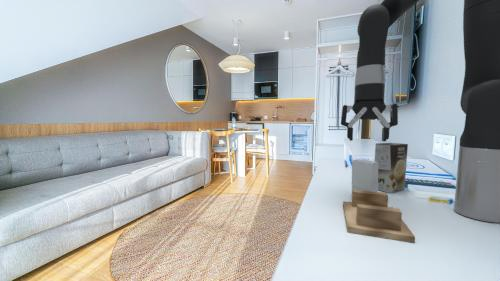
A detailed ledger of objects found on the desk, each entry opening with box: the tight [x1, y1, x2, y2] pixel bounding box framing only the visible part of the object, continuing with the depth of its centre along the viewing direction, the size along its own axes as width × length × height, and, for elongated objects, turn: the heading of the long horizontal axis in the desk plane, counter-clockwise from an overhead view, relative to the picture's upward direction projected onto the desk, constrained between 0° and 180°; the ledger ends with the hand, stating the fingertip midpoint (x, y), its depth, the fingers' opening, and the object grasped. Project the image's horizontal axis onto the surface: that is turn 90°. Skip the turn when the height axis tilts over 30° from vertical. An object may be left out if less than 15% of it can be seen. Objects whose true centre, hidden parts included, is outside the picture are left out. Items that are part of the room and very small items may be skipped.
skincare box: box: [351, 158, 379, 192], centre depth 65 cm, size 6×4×12 cm
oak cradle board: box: [342, 189, 416, 244], centre depth 52 cm, size 12×16×5 cm
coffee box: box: [374, 142, 409, 194], centre depth 76 cm, size 9×6×16 cm
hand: (366, 140), depth 64 cm, fingers open, 8 cm apart
